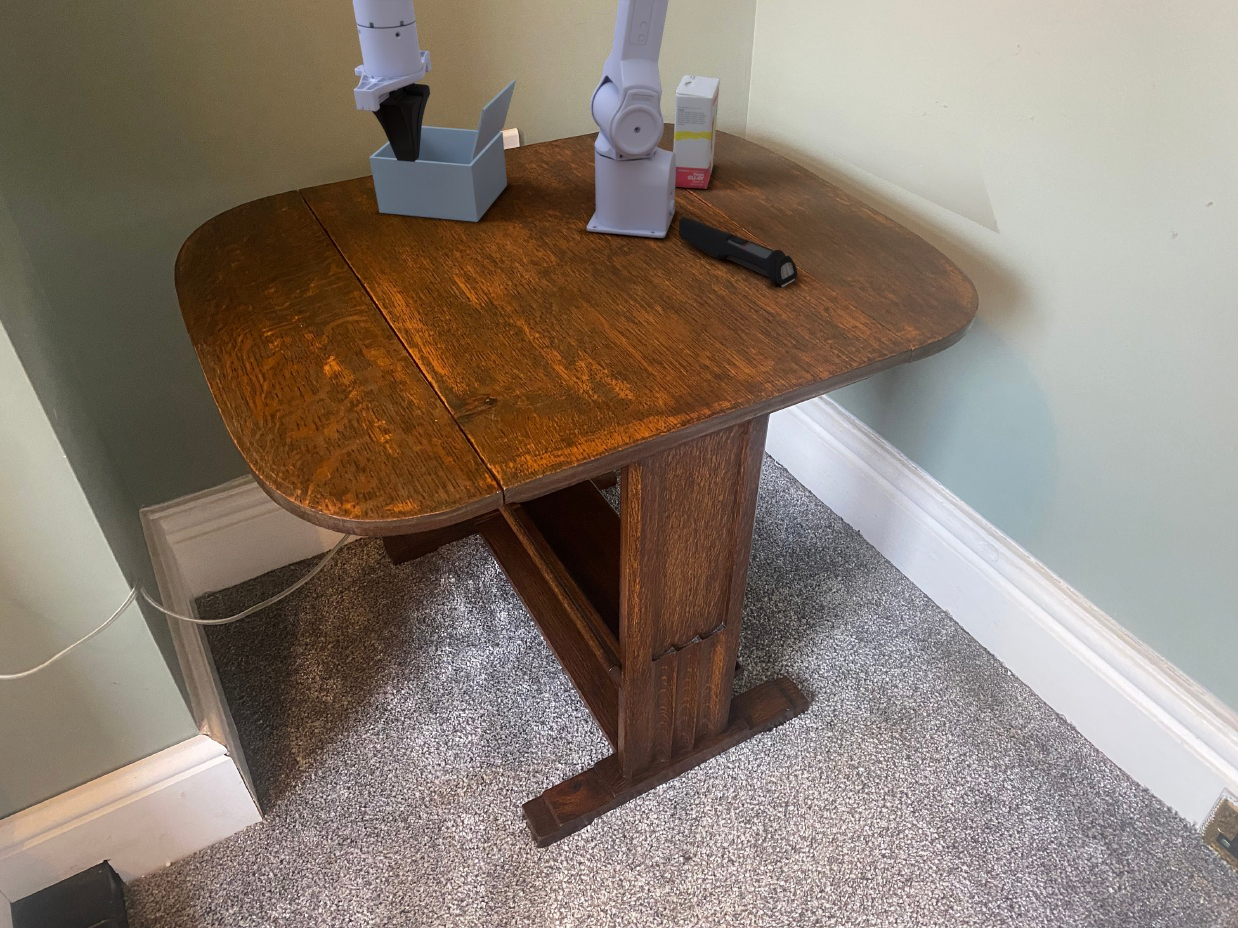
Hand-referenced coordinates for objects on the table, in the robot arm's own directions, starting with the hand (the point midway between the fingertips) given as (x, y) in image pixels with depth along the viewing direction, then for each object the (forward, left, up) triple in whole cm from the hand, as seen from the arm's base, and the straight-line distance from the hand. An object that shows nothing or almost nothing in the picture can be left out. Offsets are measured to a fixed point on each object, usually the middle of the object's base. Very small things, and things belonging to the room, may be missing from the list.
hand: (407, 159), depth 92 cm
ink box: (-28, -27, -10) cm, 40 cm away
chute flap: (-5, -13, +1) cm, 14 cm away
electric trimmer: (-36, -3, -10) cm, 38 cm away
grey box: (+2, -13, -10) cm, 16 cm away
